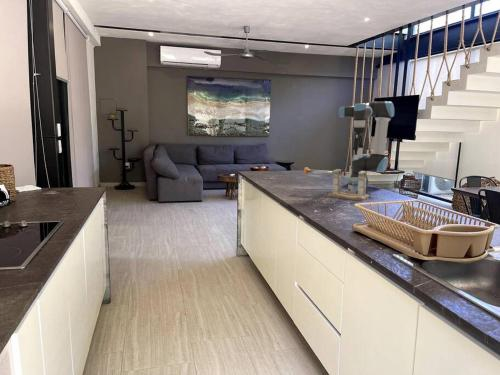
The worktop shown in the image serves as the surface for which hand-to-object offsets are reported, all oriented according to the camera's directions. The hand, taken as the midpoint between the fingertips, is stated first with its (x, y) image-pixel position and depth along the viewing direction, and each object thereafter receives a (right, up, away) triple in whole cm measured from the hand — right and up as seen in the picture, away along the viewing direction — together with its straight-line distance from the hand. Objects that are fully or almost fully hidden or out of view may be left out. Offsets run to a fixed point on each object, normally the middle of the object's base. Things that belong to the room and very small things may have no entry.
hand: (357, 158), depth 256 cm
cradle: (-8, -26, -7) cm, 28 cm away
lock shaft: (-25, -12, +3) cm, 28 cm away
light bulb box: (+1, -24, +6) cm, 25 cm away
